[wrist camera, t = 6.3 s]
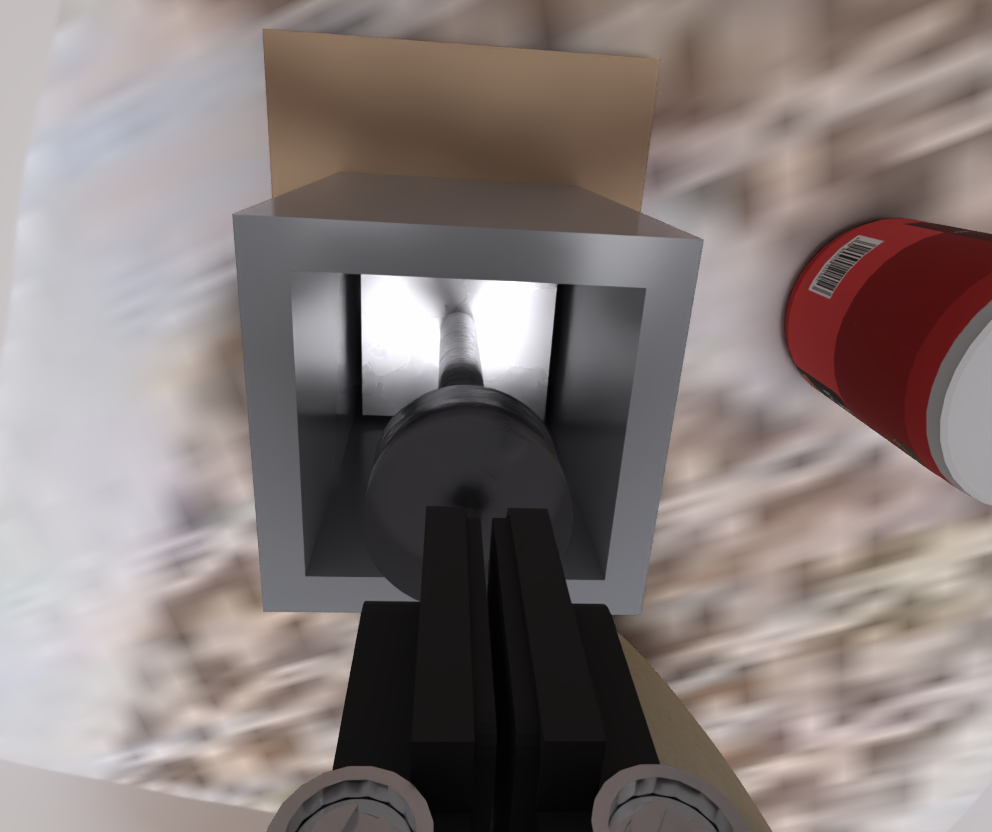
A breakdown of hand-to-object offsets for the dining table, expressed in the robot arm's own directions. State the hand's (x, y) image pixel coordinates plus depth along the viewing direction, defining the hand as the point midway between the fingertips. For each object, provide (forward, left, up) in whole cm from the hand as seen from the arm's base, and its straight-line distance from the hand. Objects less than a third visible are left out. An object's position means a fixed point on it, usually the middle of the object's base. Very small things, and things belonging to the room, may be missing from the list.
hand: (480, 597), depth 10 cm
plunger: (0, 0, -15) cm, 16 cm away
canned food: (0, +18, -21) cm, 28 cm away
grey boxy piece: (+1, 0, -20) cm, 20 cm away
